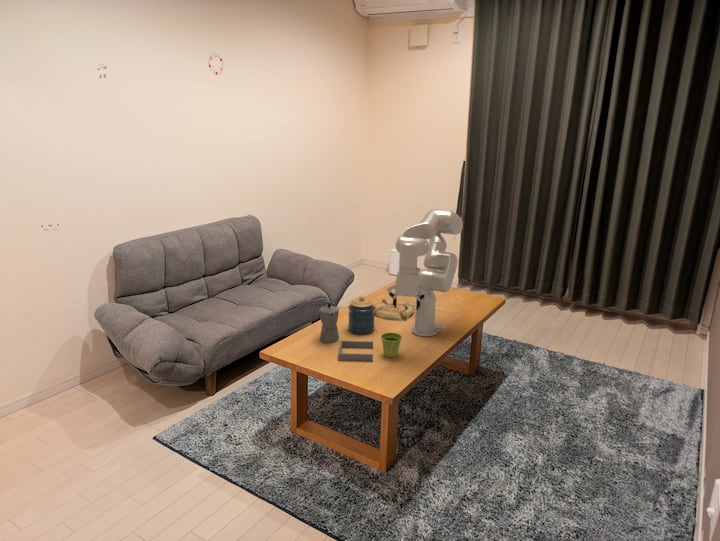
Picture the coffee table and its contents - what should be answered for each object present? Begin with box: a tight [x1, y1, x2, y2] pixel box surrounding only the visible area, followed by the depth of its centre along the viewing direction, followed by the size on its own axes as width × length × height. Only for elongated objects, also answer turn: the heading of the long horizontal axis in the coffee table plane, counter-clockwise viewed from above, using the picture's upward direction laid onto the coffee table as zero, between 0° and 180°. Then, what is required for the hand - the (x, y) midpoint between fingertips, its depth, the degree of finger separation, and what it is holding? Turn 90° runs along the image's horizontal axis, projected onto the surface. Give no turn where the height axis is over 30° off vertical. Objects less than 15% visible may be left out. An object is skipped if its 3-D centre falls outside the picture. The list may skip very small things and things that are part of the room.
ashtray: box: [374, 298, 416, 322], centre depth 276 cm, size 24×24×5 cm
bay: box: [337, 340, 374, 362], centre depth 228 cm, size 15×14×3 cm
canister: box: [347, 295, 376, 335], centre depth 252 cm, size 13×13×18 cm
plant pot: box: [380, 332, 403, 358], centre depth 227 cm, size 9×9×9 cm
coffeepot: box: [318, 302, 340, 344], centre depth 242 cm, size 15×9×18 cm, turn 16°
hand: (406, 307), depth 224 cm, fingers open, 9 cm apart
